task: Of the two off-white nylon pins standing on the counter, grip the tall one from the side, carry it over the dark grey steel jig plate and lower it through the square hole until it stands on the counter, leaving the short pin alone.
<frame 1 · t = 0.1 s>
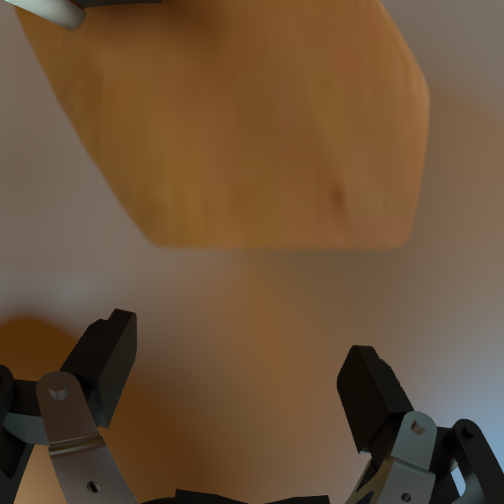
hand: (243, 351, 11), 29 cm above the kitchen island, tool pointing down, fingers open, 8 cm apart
long pin: (75, 20, 28), on the kitchen island
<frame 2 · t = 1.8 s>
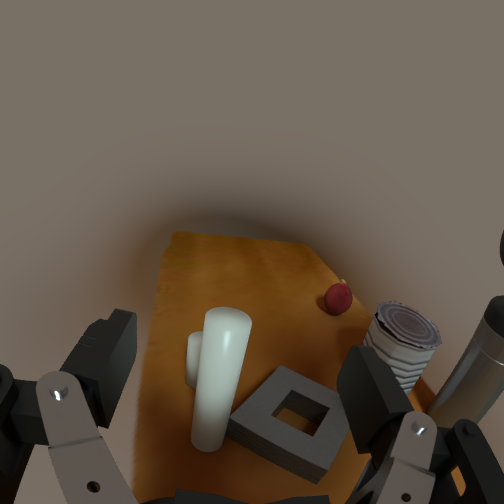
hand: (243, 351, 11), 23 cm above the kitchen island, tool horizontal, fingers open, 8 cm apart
onion: (332, 315, 62), on the kitchen island
can: (379, 382, 43), on the kitchen island
long pin: (206, 439, 29), on the kitchen island
short pin: (198, 379, 38), on the kitchen island
hole plate: (293, 428, 33), on the kitchen island
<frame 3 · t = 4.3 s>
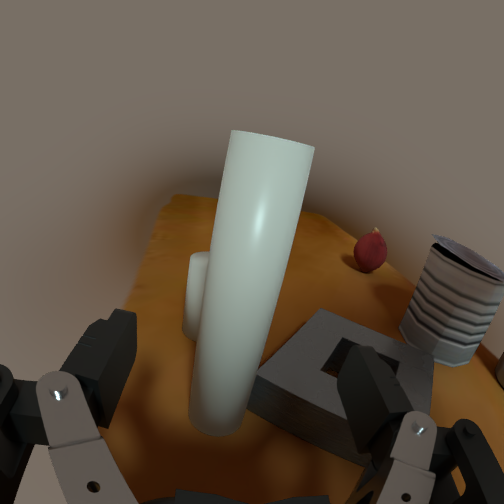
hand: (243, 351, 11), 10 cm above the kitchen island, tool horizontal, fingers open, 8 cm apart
onion: (363, 273, 51), on the kitchen island
can: (435, 341, 32), on the kitchen island
long pin: (215, 415, 18), on the kitchen island
short pin: (201, 330, 27), on the kitchen island
hole plate: (346, 397, 22), on the kitchen island
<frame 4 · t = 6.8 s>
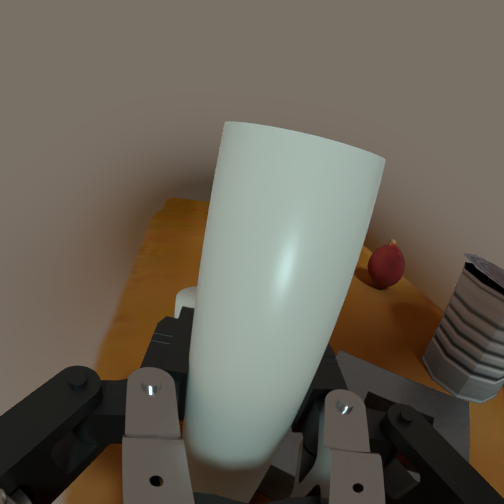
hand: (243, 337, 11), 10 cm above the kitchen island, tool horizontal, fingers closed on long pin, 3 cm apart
onion: (378, 289, 45), on the kitchen island
can: (460, 372, 26), on the kitchen island
long pin: (212, 498, 12), on the kitchen island, touching gripper
short pin: (194, 379, 21), on the kitchen island
hole plate: (370, 460, 16), on the kitchen island
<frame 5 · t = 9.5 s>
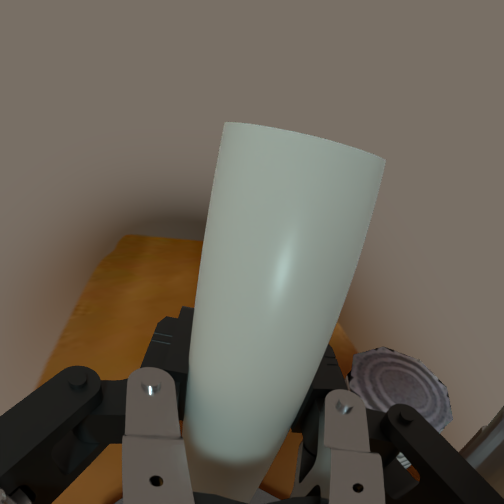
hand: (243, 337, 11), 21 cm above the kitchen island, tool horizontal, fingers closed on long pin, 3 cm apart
can: (354, 458, 27), on the kitchen island
long pin: (212, 499, 12), point 11 cm above the kitchen island, touching gripper
when the fingers open (10 cm above the kitchen island, at t = 12.6 s): long pin stays where it is, resting in hole plate.
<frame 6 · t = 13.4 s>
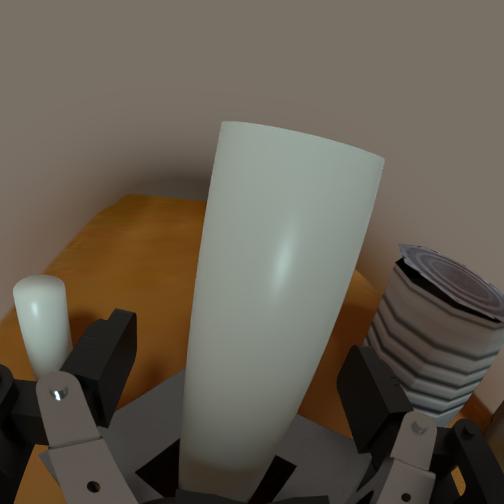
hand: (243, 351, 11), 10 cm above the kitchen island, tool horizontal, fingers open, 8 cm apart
can: (401, 394, 23), on the kitchen island
long pin: (211, 499, 12), resting in hole plate
short pin: (55, 370, 18), on the kitchen island
hole plate: (211, 499, 12), on the kitchen island
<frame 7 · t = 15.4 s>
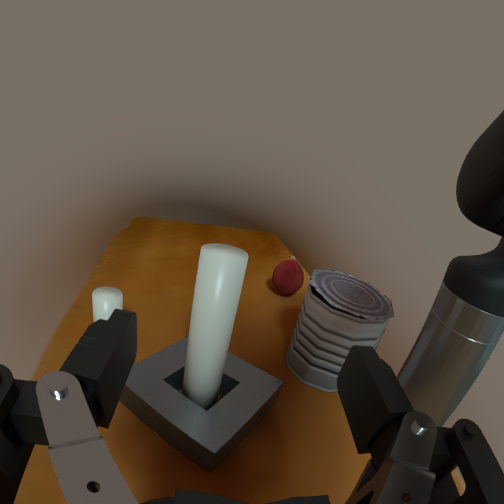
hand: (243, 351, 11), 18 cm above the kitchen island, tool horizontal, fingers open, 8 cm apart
onion: (282, 296, 58), on the kitchen island
can: (323, 366, 39), on the kitchen island
long pin: (198, 404, 28), resting in hole plate
short pin: (109, 342, 34), on the kitchen island
hole plate: (198, 404, 29), on the kitchen island
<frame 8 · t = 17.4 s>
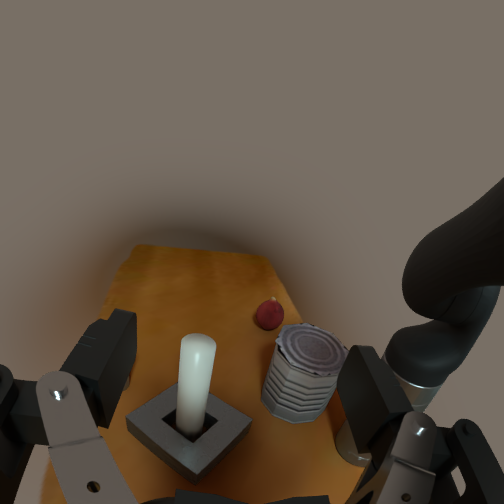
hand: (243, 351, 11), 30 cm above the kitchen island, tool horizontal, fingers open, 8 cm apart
onion: (266, 329, 65), on the kitchen island
can: (292, 399, 47), on the kitchen island
long pin: (188, 434, 36), resting in hole plate
hole plate: (188, 434, 36), on the kitchen island
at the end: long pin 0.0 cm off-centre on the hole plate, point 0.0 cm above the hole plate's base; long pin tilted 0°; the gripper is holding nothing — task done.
